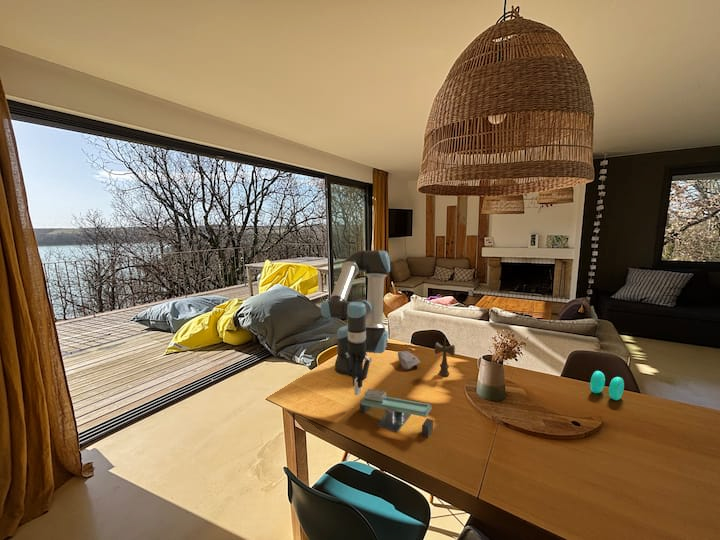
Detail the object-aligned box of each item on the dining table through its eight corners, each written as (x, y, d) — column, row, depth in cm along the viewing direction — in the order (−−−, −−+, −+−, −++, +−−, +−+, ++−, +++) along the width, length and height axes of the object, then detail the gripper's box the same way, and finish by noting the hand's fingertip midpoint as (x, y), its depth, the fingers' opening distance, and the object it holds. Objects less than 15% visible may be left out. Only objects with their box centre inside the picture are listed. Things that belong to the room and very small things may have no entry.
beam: (369, 397, 129) (368, 393, 129) (432, 408, 113) (431, 403, 113) (360, 404, 123) (360, 400, 123) (425, 417, 108) (425, 412, 108)
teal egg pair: (616, 404, 127) (619, 382, 126) (588, 394, 135) (590, 373, 134) (623, 396, 133) (626, 375, 132) (596, 387, 141) (598, 367, 140)
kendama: (435, 370, 160) (436, 334, 157) (454, 373, 156) (455, 336, 153) (433, 375, 154) (434, 338, 152) (453, 378, 151) (454, 340, 148)
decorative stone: (421, 368, 163) (422, 358, 162) (406, 371, 159) (406, 360, 159) (409, 358, 175) (409, 349, 174) (394, 361, 172) (394, 351, 171)
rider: (370, 397, 126) (369, 389, 126) (387, 400, 122) (385, 391, 122) (366, 401, 123) (364, 393, 123) (383, 404, 119) (381, 395, 119)
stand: (371, 401, 132) (370, 386, 131) (436, 424, 116) (436, 407, 116) (354, 417, 122) (354, 401, 121) (424, 444, 106) (424, 426, 105)
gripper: (338, 339, 125) (340, 393, 128) (365, 346, 118) (366, 402, 121) (349, 334, 131) (350, 385, 134) (375, 340, 124) (375, 393, 127)
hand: (357, 393), depth 127 cm, fingers closed
